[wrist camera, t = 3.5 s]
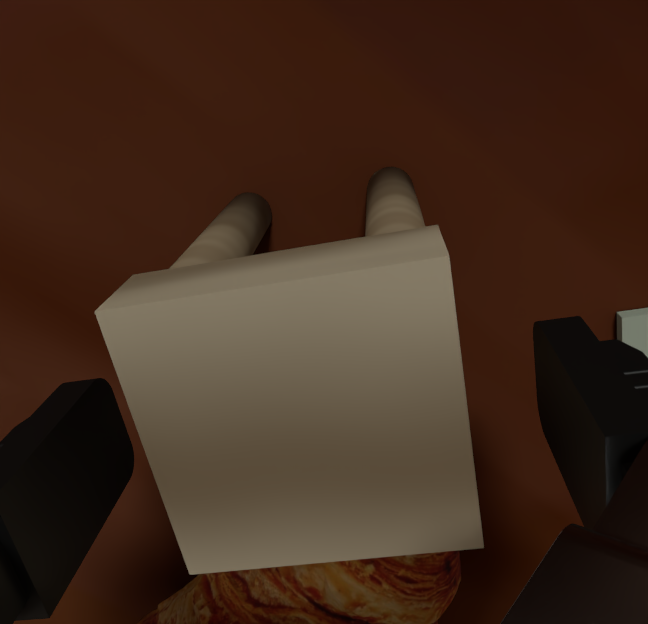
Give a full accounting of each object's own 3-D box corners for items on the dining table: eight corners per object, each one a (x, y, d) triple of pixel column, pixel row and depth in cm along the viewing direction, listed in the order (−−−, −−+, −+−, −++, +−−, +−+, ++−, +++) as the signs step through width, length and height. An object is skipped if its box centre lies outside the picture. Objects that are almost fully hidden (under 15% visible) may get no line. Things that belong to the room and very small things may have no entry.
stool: (218, 193, 16) (94, 312, 9) (413, 158, 16) (449, 256, 8) (262, 364, 18) (189, 575, 11) (437, 340, 18) (483, 547, 10)
